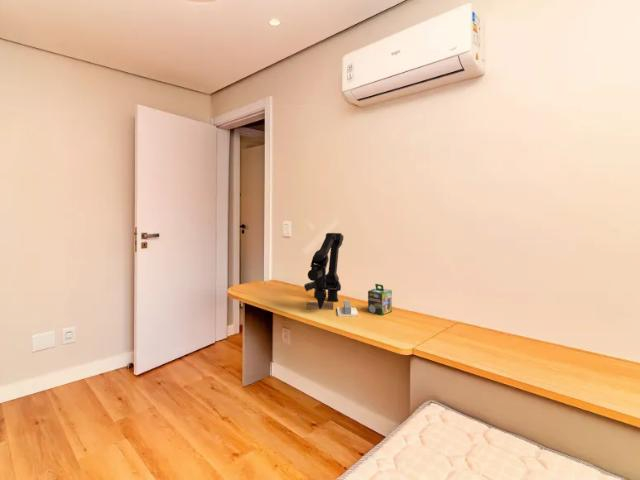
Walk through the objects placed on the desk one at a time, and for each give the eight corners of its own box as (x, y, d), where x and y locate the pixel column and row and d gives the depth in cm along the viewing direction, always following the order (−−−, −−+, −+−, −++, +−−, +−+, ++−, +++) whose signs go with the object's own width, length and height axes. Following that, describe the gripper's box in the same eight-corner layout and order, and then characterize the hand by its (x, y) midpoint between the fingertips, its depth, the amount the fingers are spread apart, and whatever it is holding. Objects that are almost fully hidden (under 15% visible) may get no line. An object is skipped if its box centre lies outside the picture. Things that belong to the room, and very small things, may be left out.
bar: (307, 308, 190) (307, 302, 189) (333, 308, 190) (333, 302, 189) (306, 310, 187) (306, 303, 186) (333, 310, 186) (333, 303, 186)
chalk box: (392, 312, 183) (392, 283, 182) (382, 315, 177) (382, 286, 175) (377, 308, 190) (378, 281, 188) (367, 311, 183) (367, 283, 182)
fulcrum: (337, 309, 188) (337, 300, 187) (355, 309, 187) (356, 301, 187) (337, 316, 176) (338, 307, 175) (358, 316, 175) (358, 307, 175)
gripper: (306, 273, 196) (305, 301, 197) (304, 280, 177) (304, 311, 179) (326, 273, 196) (325, 301, 197) (326, 280, 177) (326, 311, 179)
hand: (320, 306), depth 188 cm, fingers open, 9 cm apart
